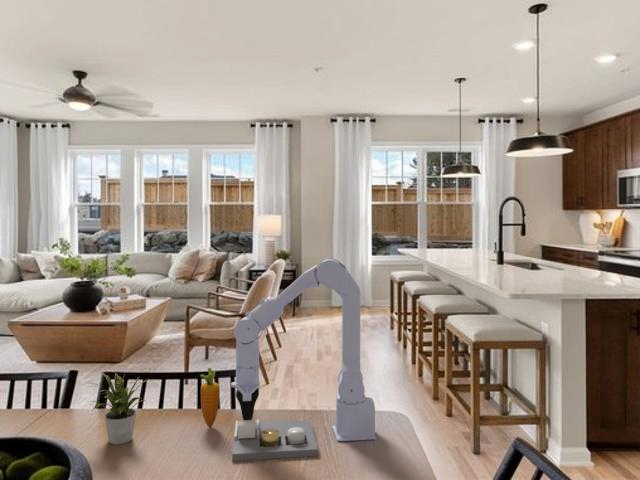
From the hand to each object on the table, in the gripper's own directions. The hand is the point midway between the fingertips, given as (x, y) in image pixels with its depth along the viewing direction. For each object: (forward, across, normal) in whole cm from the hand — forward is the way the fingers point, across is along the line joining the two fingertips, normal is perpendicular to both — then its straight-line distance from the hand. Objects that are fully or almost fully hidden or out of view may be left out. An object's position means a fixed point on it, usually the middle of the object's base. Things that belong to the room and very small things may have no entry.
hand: (247, 419), depth 117 cm
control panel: (+3, +6, +6) cm, 10 cm away
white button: (+2, +10, +11) cm, 15 cm away
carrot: (+3, -4, -10) cm, 11 cm away
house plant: (+3, 0, -32) cm, 32 cm away
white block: (+1, +7, 0) cm, 7 cm away
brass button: (+2, +9, +5) cm, 11 cm away
